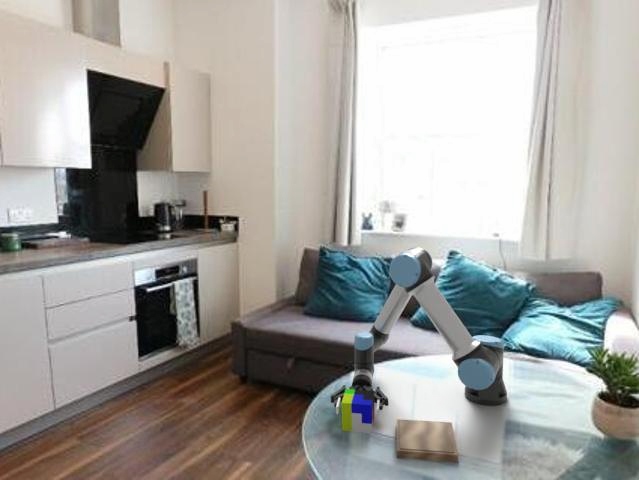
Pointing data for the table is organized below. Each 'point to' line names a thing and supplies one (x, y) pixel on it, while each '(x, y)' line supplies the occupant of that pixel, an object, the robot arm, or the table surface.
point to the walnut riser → (426, 441)
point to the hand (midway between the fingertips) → (357, 411)
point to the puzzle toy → (358, 410)
